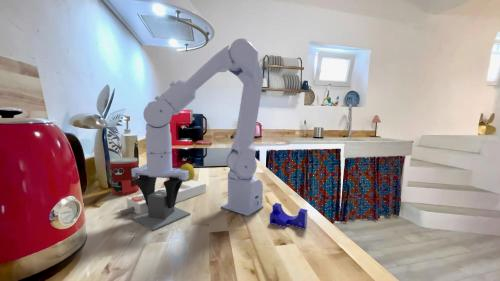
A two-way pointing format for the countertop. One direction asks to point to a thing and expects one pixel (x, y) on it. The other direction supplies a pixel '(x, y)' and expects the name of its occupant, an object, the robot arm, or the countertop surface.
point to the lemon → (191, 171)
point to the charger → (159, 205)
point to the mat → (158, 223)
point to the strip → (185, 191)
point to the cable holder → (288, 217)
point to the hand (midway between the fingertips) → (161, 205)
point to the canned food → (123, 176)
